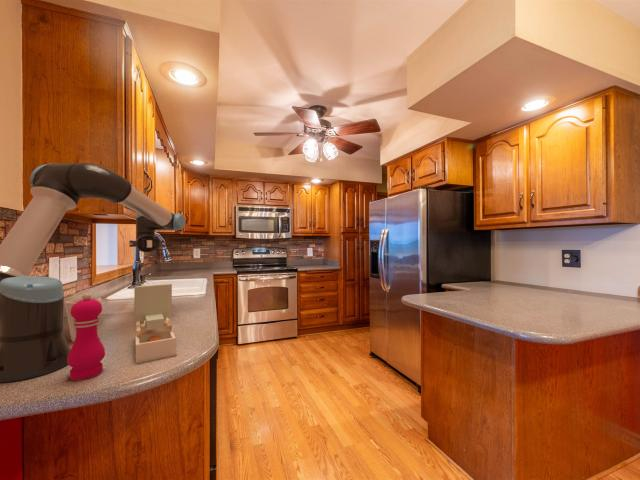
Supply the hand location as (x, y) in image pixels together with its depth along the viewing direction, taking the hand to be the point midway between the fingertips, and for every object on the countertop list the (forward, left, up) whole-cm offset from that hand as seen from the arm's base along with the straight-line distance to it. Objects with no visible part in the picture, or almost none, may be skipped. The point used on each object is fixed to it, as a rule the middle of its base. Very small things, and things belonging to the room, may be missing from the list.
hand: (149, 243), depth 105 cm
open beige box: (0, -27, -32) cm, 42 cm away
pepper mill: (-15, -32, -32) cm, 48 cm away
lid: (0, -24, -25) cm, 34 cm away
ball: (0, -26, -30) cm, 39 cm away
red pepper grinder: (-19, +2, -32) cm, 37 cm away
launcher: (0, -17, -32) cm, 36 cm away
